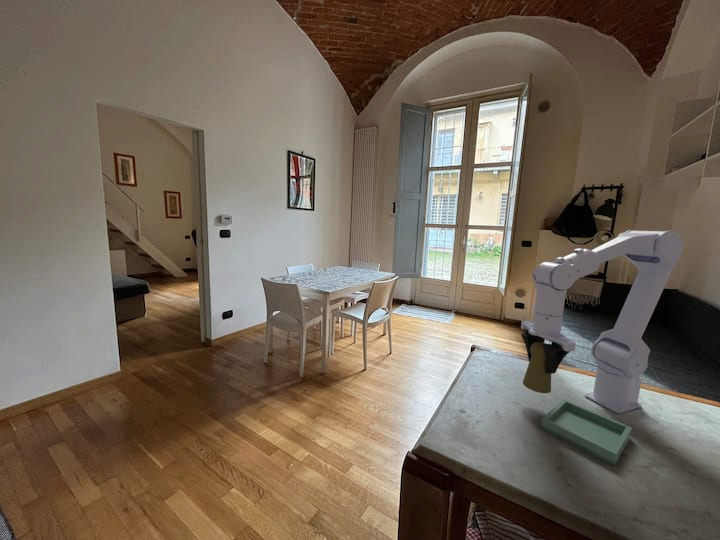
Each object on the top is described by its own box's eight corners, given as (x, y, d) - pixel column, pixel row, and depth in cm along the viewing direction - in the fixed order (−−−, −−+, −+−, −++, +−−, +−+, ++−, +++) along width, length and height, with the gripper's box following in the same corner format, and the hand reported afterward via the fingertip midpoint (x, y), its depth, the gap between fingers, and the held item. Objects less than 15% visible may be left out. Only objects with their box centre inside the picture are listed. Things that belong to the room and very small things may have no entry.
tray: (562, 408, 72) (563, 399, 72) (630, 438, 62) (632, 427, 62) (540, 428, 65) (542, 418, 64) (614, 466, 55) (616, 454, 54)
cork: (556, 394, 69) (564, 350, 67) (530, 392, 70) (537, 348, 68) (542, 380, 75) (548, 340, 73) (518, 378, 75) (524, 338, 74)
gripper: (512, 305, 76) (507, 354, 78) (557, 323, 62) (550, 383, 64) (537, 304, 77) (531, 353, 79) (587, 322, 63) (578, 381, 65)
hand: (541, 367), depth 71 cm, fingers closed on cork, 5 cm apart
